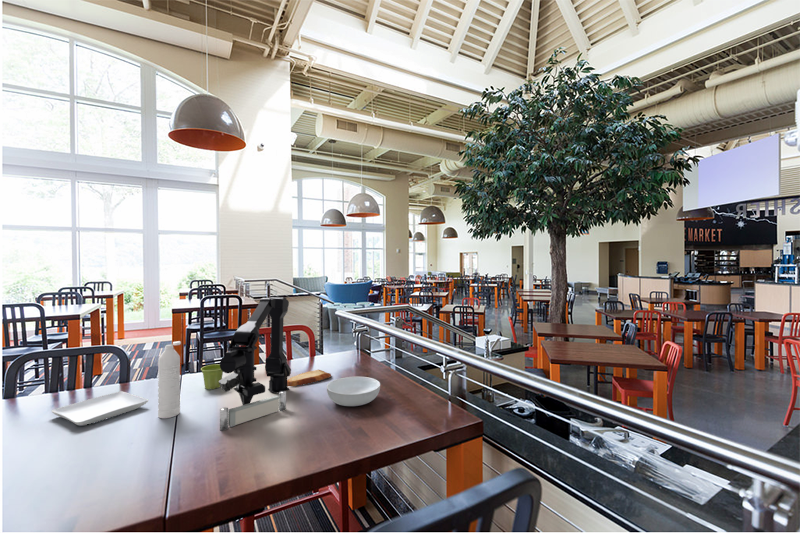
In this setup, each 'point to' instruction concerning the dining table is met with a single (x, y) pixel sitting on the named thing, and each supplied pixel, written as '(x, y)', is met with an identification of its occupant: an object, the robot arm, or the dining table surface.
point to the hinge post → (282, 400)
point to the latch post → (223, 418)
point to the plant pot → (212, 376)
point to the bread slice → (308, 378)
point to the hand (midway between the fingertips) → (245, 408)
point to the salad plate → (100, 408)
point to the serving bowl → (353, 390)
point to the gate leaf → (253, 410)
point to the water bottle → (169, 382)
